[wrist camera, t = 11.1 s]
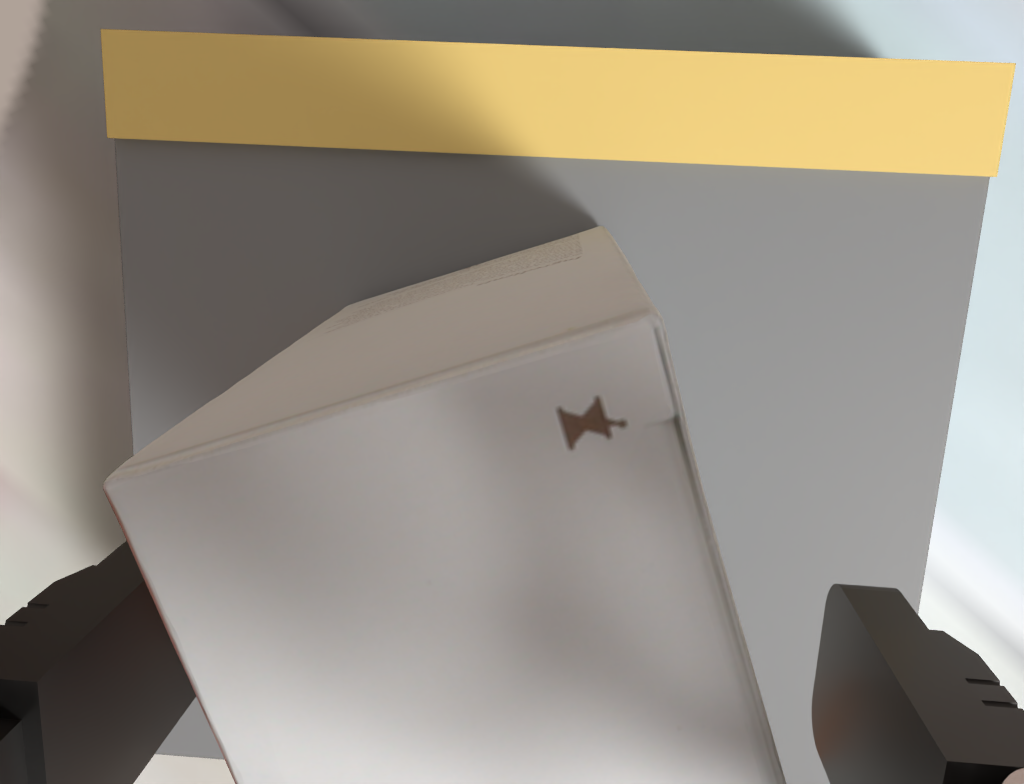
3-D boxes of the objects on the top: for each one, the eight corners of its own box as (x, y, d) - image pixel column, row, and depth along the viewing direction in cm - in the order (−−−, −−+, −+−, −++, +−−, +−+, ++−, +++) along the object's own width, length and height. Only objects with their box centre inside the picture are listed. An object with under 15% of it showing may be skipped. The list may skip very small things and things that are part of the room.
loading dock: (910, 88, 22) (1015, 62, 17) (825, 689, 26) (890, 821, 20) (207, 60, 23) (101, 29, 17) (228, 646, 26) (145, 761, 21)
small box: (345, 301, 19) (72, 462, 8) (610, 219, 18) (659, 287, 8) (466, 644, 20) (359, 1122, 10) (713, 582, 20) (866, 1030, 9)
